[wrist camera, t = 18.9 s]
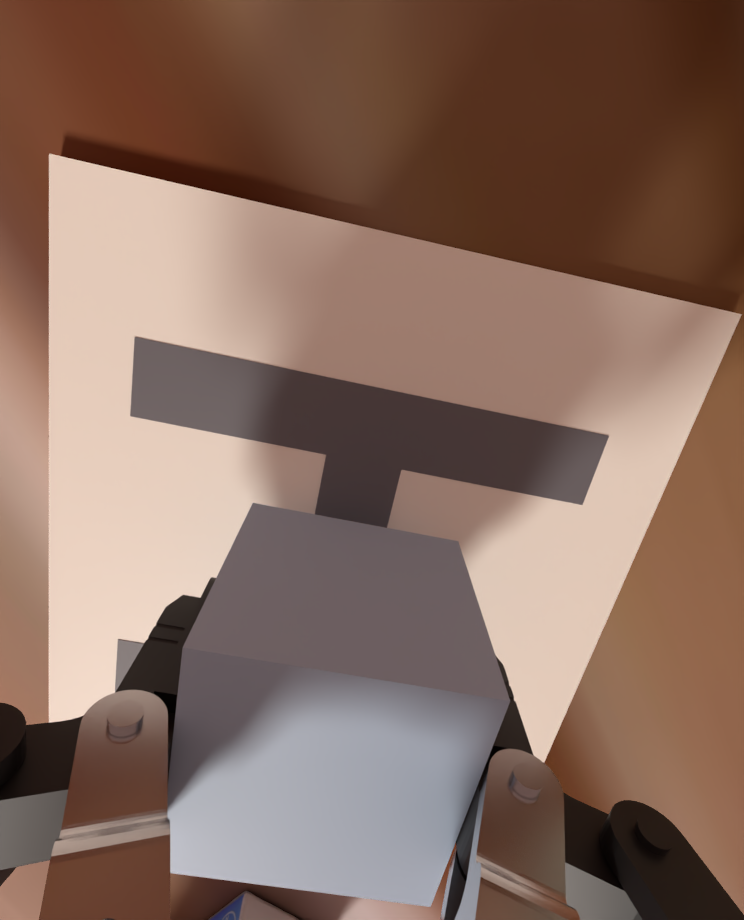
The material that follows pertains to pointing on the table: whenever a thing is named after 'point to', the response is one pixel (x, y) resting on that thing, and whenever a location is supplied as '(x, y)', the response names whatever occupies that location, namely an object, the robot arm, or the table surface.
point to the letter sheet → (345, 417)
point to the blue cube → (332, 711)
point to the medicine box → (251, 910)
